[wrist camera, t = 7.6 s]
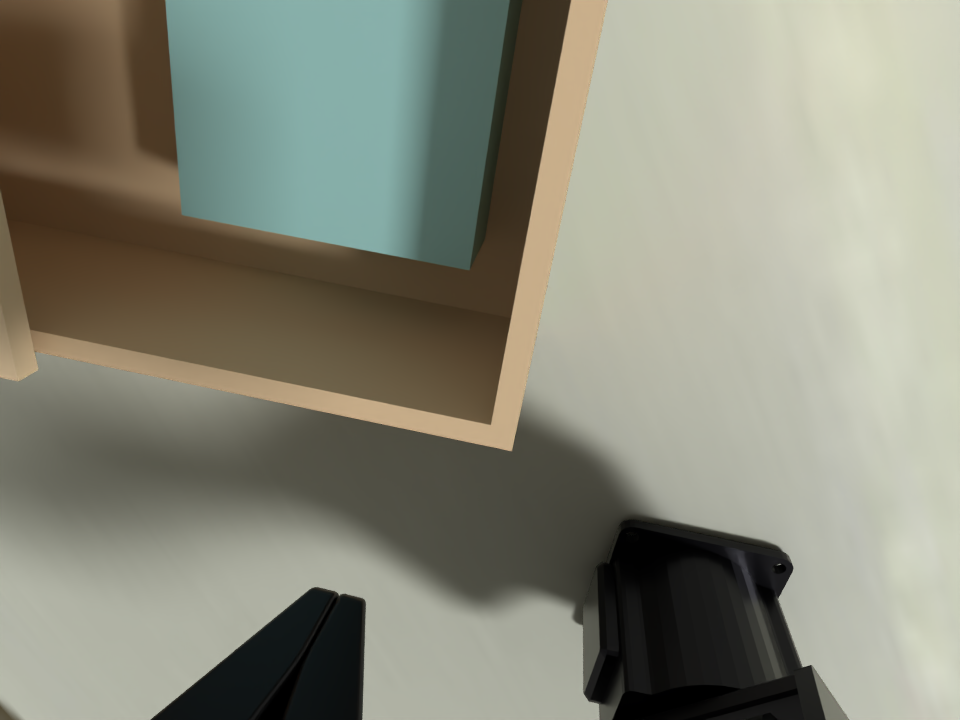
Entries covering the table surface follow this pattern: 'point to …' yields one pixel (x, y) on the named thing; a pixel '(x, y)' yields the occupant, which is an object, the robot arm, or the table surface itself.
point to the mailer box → (297, 194)
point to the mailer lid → (13, 314)
